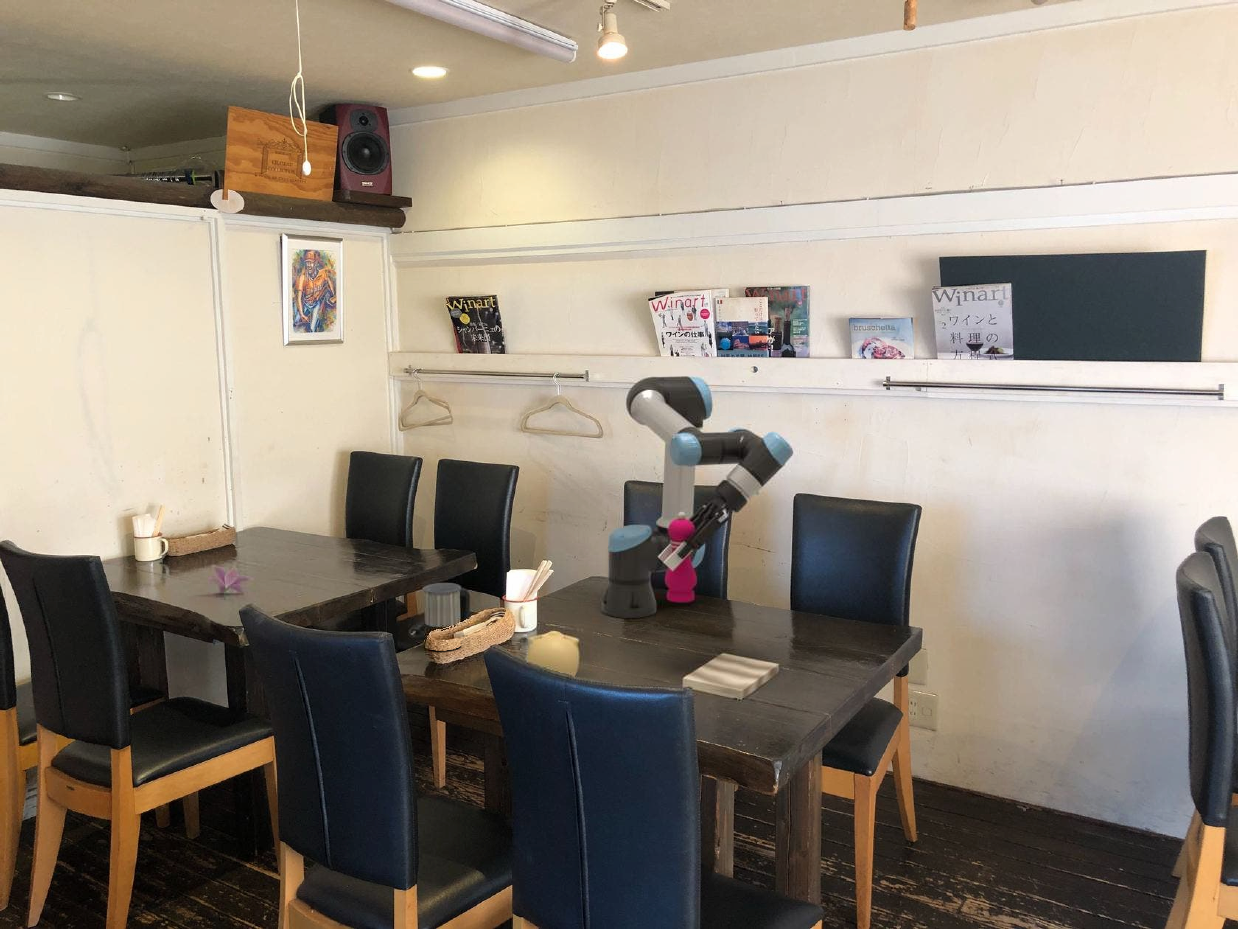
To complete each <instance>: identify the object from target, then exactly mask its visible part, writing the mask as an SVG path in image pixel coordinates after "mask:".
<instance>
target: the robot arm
mask: <svg viewBox="0 0 1238 929" xmlns="http://www.w3.org/2000/svg"><path fill="white" fill-rule="evenodd" d="M625 400H626V401H625V405H626V407H625V408H626V410H627V413H628V414H629V417H630V418H632V419H633V420H634V421H635V422H636V423H637V424H639V425H642V426H646V427H647V428H649V429H650V431H652V432H653V433H654V434H655V435H656V436H658V437H659V438H660V439H661V440H662V441H663V442H664V443H665V444H664V462H663V464H664V465H663V480H662V481H663V482H662V483H663V487H662V505H661V506H662V508H661V509H662V511H661V517H660V518H658V519H657V520H656V523H655V529H652V527H651V526H650V525H646V524H629V525H625V526H624V525H623V526H620V527H617V528H615V529H614V530H612V531H611V532H610V533H609V536H608V537H609V539H608V547H607V550H608V579H607V580H608V583H607V586H606V589H605V593H604V595H603V598H602V602H601V612H602V613H604V614H605V615H607V616H610V617H614V618H623V619H638V618H639V619H640V618H645V617H650V616H653V615H655V614H656V612H657V601H656V598H655V594H654V590H653V587H652V584H651V579H652V578H651V576H652V574H651V573H659V572H660V573H661V572H667V570H668V568H670V569H671V570H672V571H673V570H674V569H675V568H676V567H677V566H678V565H679V564H680V563H681V562H682V561H683V560H684V559H685V558H686V557H687V556H688V555H689V554H690V558H691V563H692V565H693V568H694V569H695V568H697V567H698V566H699V565H700V563H701V562H702V561H703V558H704V555H705V553H706V552H705V550H706V543H707V542H708V541H709V540H710V539H711V538H712V537H713V536H714V535H715V534H716V533H717V532H718V530H720V528H722V526H724V525H725V524H726V523H727V522H729V520H730V517H729V516H728V514H729V512H730V511H732V512H734V513H737V514H738V513H739V512H740V511H741V510H742V509H743V508H744V507H745V506H746V505H747V504H748V500H751V499H752V498H753V497H754V496H756V495H759V494H760V490H761V489H762V488H763V487H764V486H765V485H766V484H768V482H769V481H770V480H771V479H772V478H773V477H774V476H775V475H777V473H778V472H779V471H780V470H781V469H783V467H785V465H786V463H787V462H788V461H789V460H791V459H790V458H792V456H793V455H794V450H793V448H792V446H791V445H790V443H788V441H787V440H786V439H784V437H782V436H781V435H780V434H779V433H777V432H776V431H771V432H768V433H767V434H766V435H764V436H763V437H761V436H759V435H757V434H755V433H754V432H752V431H751V430H749V429H746V428H743V427H734V428H732V429H730V430H728V431H723V432H715V431H714V432H703V431H701V430H702V429H703V427H704V421H706V420H708V419H709V418H710V417H711V415H712V412H713V396H712V393H711V390H710V387H709V385H708V383H707V381H705V380H704V379H703V378H701V377H698V376H688V375H687V376H686V375H681V376H679V375H678V376H650V377H645V378H642V379H640V380H638V381H636V383H634V385H632V387H630V390H629V391H628V393H627V395H626V398H625ZM713 465H717V466H718V465H736V466H735V467H734V468H732V470H731V471H729V473H728V474H727V475H726V479H723V480H721V481H720V482H719V484H717V485H716V487H714V489H713V493H714V495H716V498H714V499H713V500H712V501H709V502H708V501H704V502H703V504H701V506H700V508H699V509H698V510H696V512H694V505H695V504H694V500H695V483H696V481H695V480H696V478H695V477H696V466H713ZM680 512H684V513H685V515H686V517H685V519H687V520H689V521H691V522H692V523H693V525H694V528H695V531H694V533H693V534H692V535H691V536H690V538H689V539H684V541H685V542H686V543H687V544H686V543H685V542H683V543H682V544H681V545H680V546H679V547H678V548H677V549H676V550H675V551H674V552H673V553H672V547H671V546H670V544H671V542H670V540H672V538H671V537H670V536H669V533H668V528H669V525H670V523H671V522H672V521H673V520H676V519H679V518H678V514H679V513H680Z"/></svg>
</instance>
